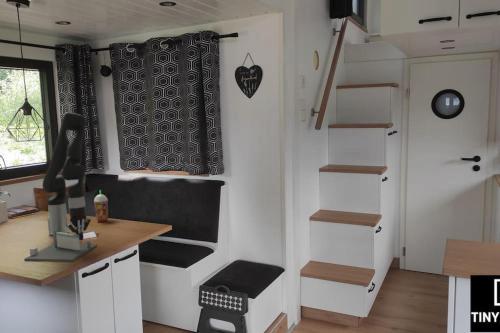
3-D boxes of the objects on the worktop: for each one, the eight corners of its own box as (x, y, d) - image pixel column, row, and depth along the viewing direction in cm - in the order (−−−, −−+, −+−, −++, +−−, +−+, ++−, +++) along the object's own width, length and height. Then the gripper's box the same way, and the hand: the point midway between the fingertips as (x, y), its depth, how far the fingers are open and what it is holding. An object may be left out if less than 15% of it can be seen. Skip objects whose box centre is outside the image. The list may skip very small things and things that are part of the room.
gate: (57, 246, 217) (55, 232, 216) (60, 245, 218) (59, 231, 217) (77, 250, 210) (76, 235, 209) (80, 249, 211) (79, 234, 210)
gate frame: (23, 260, 202) (21, 240, 200) (52, 245, 224) (50, 227, 223) (72, 261, 198) (70, 241, 197) (97, 246, 221) (95, 228, 219)
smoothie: (97, 219, 278) (95, 189, 275) (110, 219, 278) (108, 188, 276) (93, 223, 269) (91, 191, 267) (107, 222, 270) (105, 190, 268)
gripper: (83, 202, 220) (86, 235, 222) (60, 208, 208) (63, 242, 211) (93, 203, 216) (96, 237, 218) (70, 209, 204) (73, 244, 207)
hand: (80, 239), depth 214 cm, fingers closed
